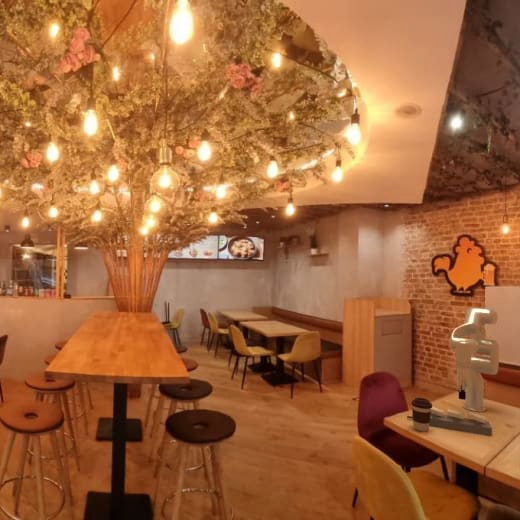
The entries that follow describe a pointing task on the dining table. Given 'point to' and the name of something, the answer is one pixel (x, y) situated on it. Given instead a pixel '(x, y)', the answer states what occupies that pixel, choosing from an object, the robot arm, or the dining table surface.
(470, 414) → the rocker
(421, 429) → the coffee cup
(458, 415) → the rocker middle
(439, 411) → the rocker
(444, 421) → the power strip
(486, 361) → the robot arm
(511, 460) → the dining table surface
